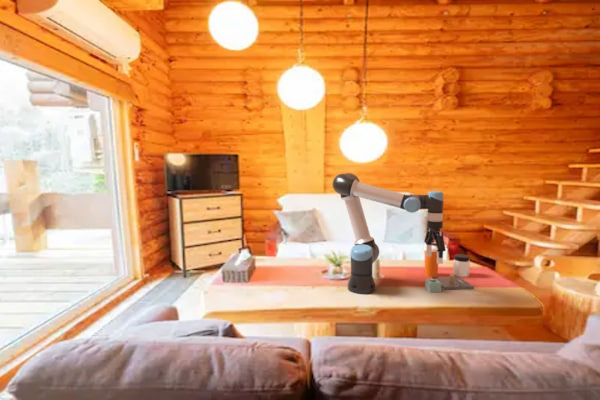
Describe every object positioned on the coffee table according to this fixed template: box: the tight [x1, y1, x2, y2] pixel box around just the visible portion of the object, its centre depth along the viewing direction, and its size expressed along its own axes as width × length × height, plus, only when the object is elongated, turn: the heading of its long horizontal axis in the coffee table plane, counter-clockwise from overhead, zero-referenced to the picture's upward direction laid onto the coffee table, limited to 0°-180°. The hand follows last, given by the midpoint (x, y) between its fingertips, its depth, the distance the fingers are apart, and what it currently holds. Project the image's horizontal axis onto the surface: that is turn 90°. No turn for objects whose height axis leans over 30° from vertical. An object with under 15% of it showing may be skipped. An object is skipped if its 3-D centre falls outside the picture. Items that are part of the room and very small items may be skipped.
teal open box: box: [425, 278, 442, 293], centre depth 175 cm, size 6×6×5 cm
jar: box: [452, 253, 471, 278], centre depth 198 cm, size 9×8×12 cm
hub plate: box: [431, 273, 474, 291], centre depth 183 cm, size 16×16×6 cm
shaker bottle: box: [423, 242, 439, 278], centre depth 198 cm, size 9×9×20 cm
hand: (434, 259), depth 174 cm, fingers open, 13 cm apart
